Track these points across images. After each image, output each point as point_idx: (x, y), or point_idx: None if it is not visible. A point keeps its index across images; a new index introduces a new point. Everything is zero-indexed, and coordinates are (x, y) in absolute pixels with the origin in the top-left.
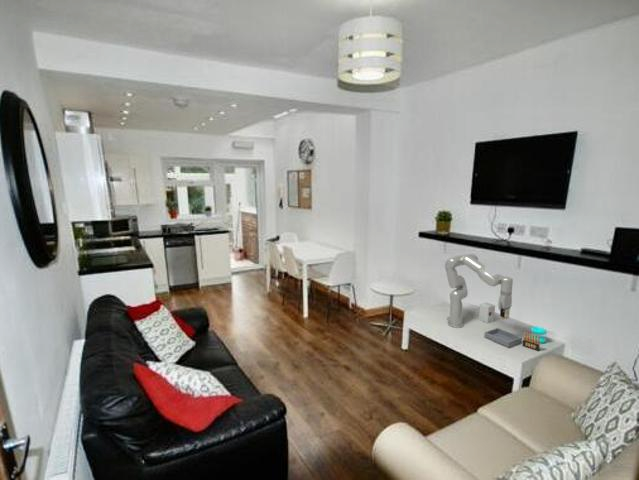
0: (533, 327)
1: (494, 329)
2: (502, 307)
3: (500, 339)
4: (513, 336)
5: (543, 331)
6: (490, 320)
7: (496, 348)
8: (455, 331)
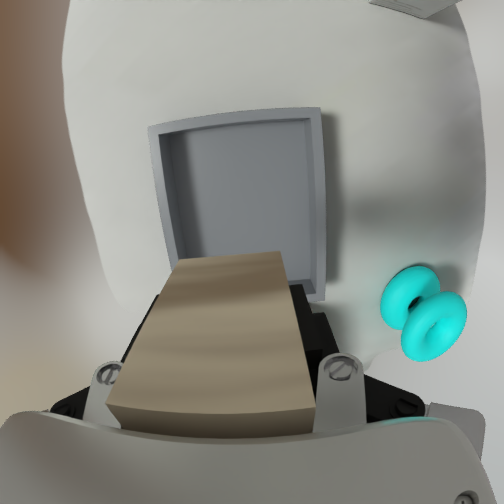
0: (441, 314)
1: (265, 117)
2: (182, 425)
3: (170, 256)
4: (313, 246)
5: (422, 361)
6: (400, 5)
7: (127, 265)
8: (82, 22)
